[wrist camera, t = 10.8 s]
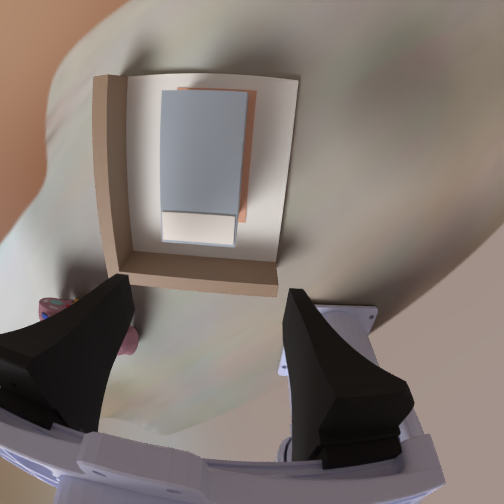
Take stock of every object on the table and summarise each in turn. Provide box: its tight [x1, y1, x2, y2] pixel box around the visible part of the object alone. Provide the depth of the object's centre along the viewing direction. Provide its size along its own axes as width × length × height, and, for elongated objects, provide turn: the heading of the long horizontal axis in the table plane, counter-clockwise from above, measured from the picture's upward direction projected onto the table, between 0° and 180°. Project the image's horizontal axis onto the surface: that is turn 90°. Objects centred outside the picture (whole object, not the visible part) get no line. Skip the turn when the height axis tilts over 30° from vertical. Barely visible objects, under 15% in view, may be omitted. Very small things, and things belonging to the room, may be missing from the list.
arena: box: [92, 73, 298, 297], centre depth 18 cm, size 14×12×4 cm
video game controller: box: [39, 298, 139, 355], centre depth 23 cm, size 10×5×7 cm, turn 74°
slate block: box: [160, 90, 249, 247], centre depth 16 cm, size 4×8×5 cm, turn 175°
